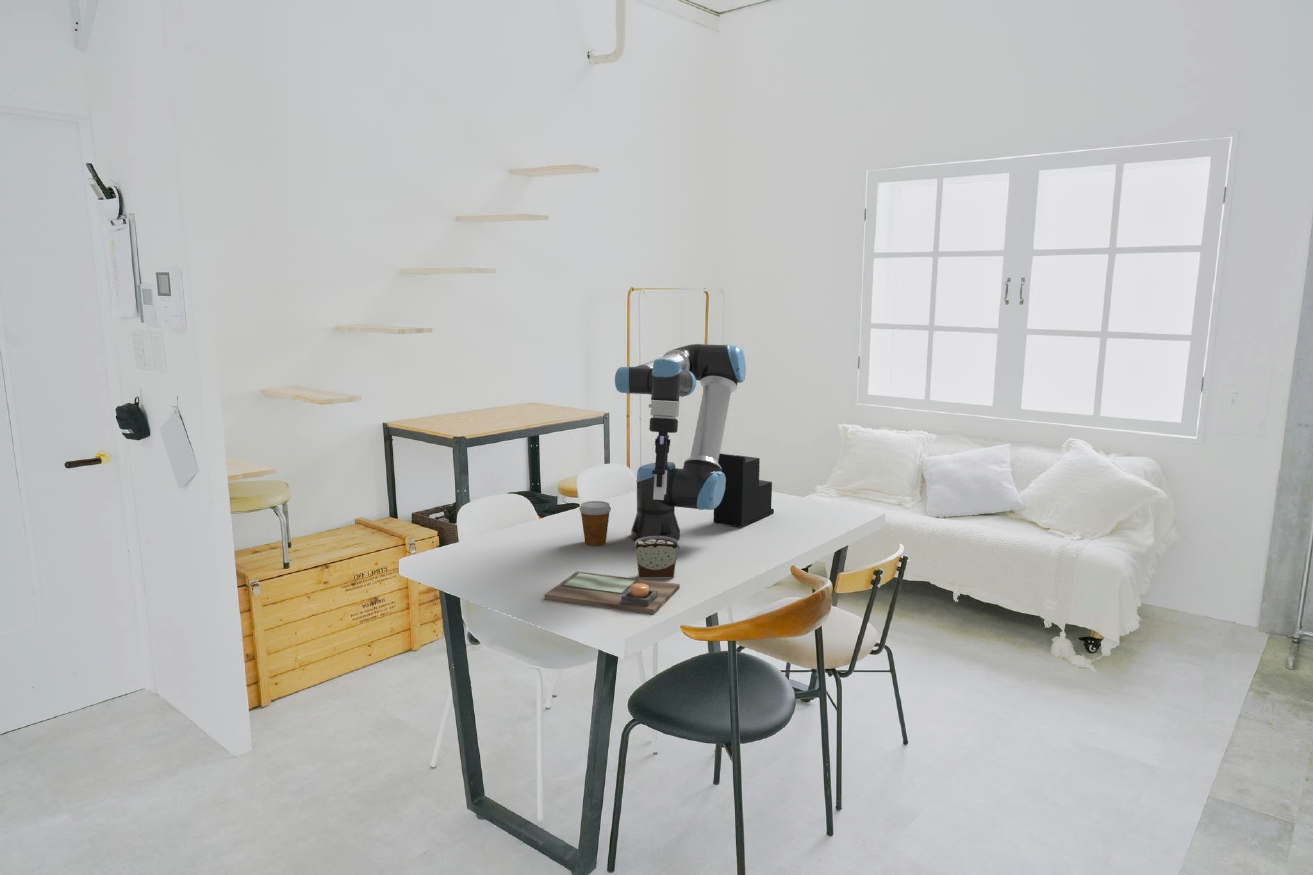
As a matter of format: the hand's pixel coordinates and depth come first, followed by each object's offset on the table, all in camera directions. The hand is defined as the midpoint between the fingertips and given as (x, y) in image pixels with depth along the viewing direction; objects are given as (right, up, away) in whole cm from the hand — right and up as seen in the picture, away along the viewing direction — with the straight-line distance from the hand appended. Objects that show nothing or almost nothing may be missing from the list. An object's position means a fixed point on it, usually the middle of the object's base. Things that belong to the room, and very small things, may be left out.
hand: (659, 496), depth 234 cm
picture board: (-12, -24, -13) cm, 29 cm away
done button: (-5, -22, -21) cm, 31 cm away
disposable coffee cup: (-19, -16, +31) cm, 40 cm away
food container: (-1, -21, +2) cm, 21 cm away
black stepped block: (+29, -12, +60) cm, 67 cm away
